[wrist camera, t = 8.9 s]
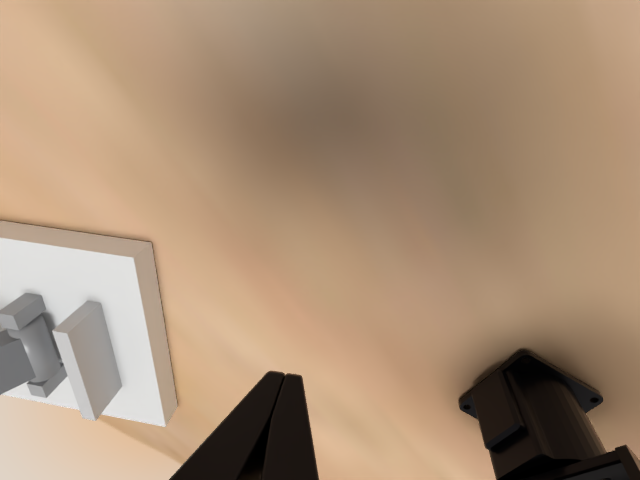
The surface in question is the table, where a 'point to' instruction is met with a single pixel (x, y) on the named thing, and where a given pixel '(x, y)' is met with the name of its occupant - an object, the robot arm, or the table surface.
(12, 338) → the lever
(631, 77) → the table surface
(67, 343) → the switch plate
